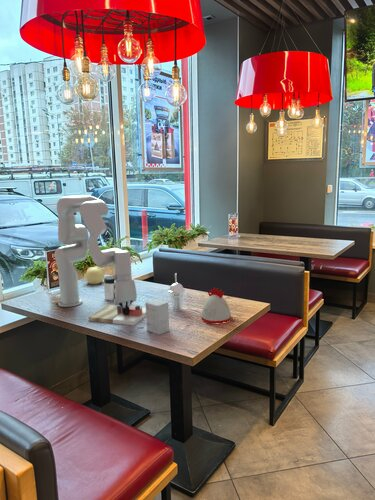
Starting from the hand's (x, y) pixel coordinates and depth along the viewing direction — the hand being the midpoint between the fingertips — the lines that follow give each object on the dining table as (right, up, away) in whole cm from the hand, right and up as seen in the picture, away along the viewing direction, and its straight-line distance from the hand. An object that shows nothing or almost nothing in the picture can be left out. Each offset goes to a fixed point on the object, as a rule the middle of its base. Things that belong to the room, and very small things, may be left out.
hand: (126, 314), depth 182 cm
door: (+2, -2, +4) cm, 5 cm away
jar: (-13, +3, +35) cm, 38 cm away
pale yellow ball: (-31, +9, +68) cm, 75 cm away
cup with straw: (+24, 0, +13) cm, 27 cm away
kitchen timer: (+42, -2, -1) cm, 42 cm away
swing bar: (+2, 0, +3) cm, 4 cm away
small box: (+16, -5, -13) cm, 21 cm away
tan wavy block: (-9, -2, +8) cm, 12 cm away
